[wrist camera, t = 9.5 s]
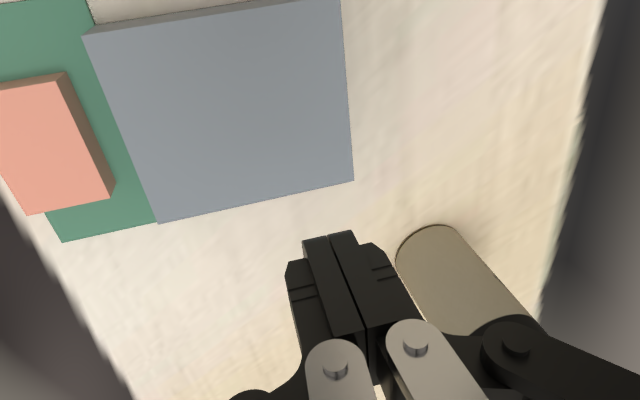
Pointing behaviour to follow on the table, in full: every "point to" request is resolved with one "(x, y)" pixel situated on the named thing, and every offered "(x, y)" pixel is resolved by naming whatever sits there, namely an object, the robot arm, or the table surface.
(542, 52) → the table surface
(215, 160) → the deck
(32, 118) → the pink slab
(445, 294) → the travel mug
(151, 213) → the mat
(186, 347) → the table surface
